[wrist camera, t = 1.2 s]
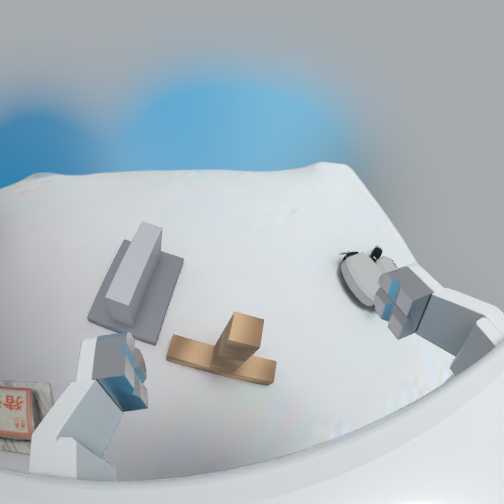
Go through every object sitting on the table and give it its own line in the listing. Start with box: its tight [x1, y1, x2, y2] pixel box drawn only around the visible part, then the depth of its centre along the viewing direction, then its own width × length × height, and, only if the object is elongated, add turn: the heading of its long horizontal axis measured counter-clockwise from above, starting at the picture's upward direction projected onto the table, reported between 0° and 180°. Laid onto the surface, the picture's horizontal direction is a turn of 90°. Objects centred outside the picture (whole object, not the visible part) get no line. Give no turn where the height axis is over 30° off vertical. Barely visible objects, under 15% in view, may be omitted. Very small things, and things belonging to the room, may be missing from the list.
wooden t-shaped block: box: [167, 312, 276, 386], centre depth 33 cm, size 14×3×14 cm, turn 81°
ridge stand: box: [87, 222, 184, 345], centre depth 37 cm, size 10×14×8 cm
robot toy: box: [339, 245, 398, 310], centre depth 54 cm, size 12×4×15 cm
